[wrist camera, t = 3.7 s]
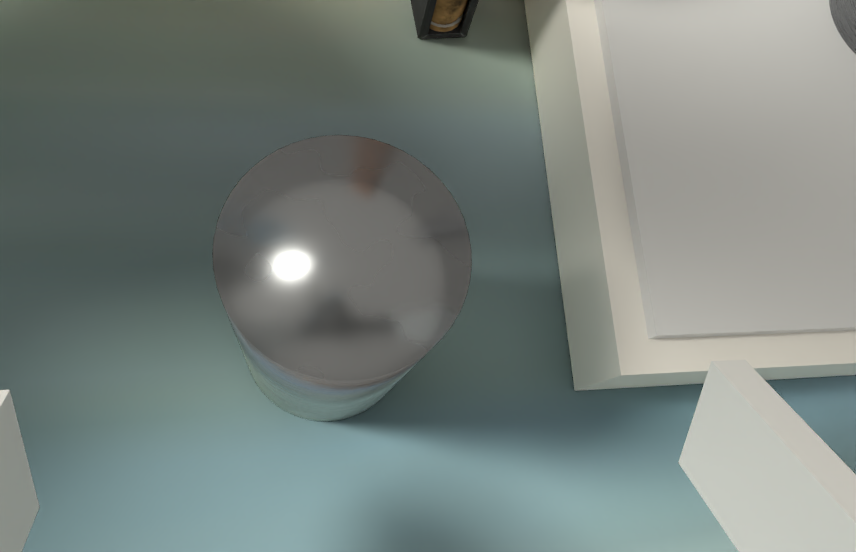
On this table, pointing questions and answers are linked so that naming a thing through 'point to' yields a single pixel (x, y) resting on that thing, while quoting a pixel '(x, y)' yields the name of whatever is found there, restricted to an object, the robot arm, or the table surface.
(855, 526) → the robot arm
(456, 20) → the ammunition clip
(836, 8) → the cylinder
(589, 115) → the scale
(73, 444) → the table surface
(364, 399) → the ball
